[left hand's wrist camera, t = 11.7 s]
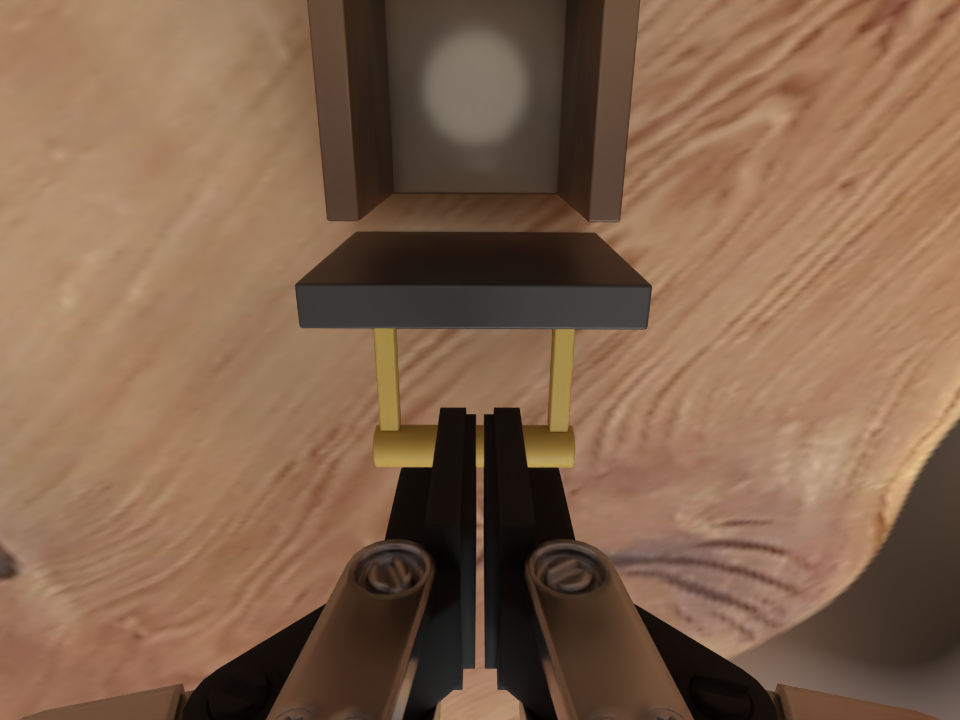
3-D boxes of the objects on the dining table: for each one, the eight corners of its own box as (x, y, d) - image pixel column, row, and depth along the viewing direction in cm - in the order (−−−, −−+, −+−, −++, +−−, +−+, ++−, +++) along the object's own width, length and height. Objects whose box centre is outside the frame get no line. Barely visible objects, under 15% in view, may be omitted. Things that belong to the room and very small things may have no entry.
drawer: (583, 392, 24) (627, 505, 17) (366, 391, 24) (319, 504, 17) (646, -419, 16) (788, -885, 8) (307, -420, 16) (158, -890, 8)
